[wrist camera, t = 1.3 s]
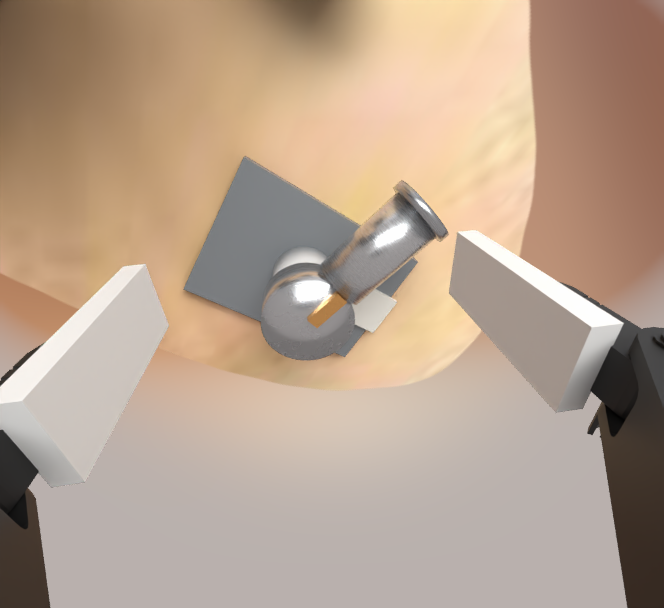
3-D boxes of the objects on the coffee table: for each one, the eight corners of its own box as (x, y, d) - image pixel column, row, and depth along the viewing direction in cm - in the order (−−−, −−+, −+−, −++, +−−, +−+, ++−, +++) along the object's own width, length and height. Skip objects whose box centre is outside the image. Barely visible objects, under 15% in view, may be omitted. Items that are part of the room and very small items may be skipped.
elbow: (306, 343, 37) (309, 381, 32) (246, 298, 33) (239, 332, 28) (437, 231, 32) (466, 254, 27) (384, 164, 28) (406, 175, 23)
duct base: (186, 284, 38) (167, 316, 32) (245, 155, 32) (235, 166, 26) (348, 353, 46) (357, 389, 40) (419, 261, 40) (442, 287, 34)
